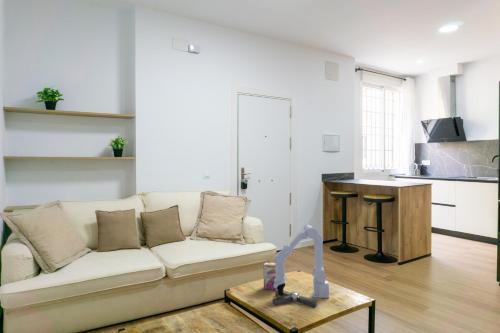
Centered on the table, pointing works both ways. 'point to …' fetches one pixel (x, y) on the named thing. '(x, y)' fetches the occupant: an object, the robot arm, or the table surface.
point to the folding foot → (283, 293)
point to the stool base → (294, 300)
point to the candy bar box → (269, 275)
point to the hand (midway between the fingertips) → (280, 295)
